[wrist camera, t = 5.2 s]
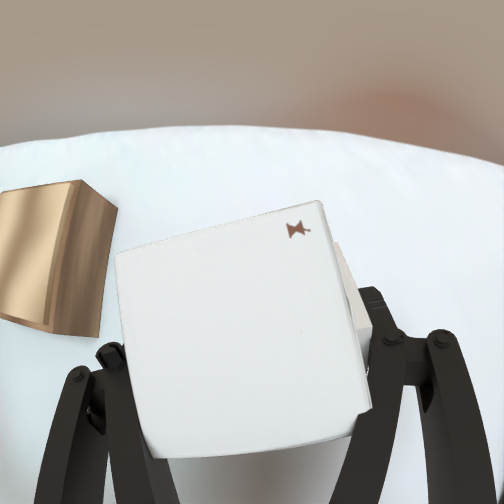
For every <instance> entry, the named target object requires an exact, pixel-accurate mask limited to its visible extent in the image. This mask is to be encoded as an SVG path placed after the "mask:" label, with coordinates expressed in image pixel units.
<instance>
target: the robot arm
mask: <svg viewBox="0 0 504 504" xmlns="http://www.w3.org/2000/svg"><path fill="white" fill-rule="evenodd" d="M334 246H335V250H336V254H337V257H338V261H339V265H340V268H341V272H342V276H343V279H344V283H345V287H346V291H347V293H348V296H349V299H350V302H351V307H352V311H353V316H354V322H355V326H356V331H357V335H358V339H359V344H360V348H361V353H362V358H363V362H364V367H365V372H367V369H368V366H369V372H368V376H367V382H368V387H369V392H370V397H371V403H372V408H371V409H369V410H368V411H366V412H364V413H361V414H358V417H357V420H356V424H355V427H354V431H353V434H352V438H351V441H350V444H349V448H348V451H347V454H346V457H345V460H344V463H343V466H342V469H341V472H340V475H339V478H338V481H337V483H336V486H335V489H334V492H333V494H332V497H331V499H330V502H329V504H378V502H379V499H380V495H381V492H382V488H383V485H384V481H385V477H386V473H387V469H388V465H389V461H390V457H391V452H392V448H393V443H394V438H395V433H396V428H397V422H398V417H399V411H400V404H401V398H402V391H403V385H410V386H415V388H416V393H417V399H418V405H419V411H420V418H421V425H422V432H423V440H424V449H425V458H426V469H427V483H428V502H429V504H497V500H496V491H495V483H494V477H493V470H492V464H491V459H490V453H489V448H488V443H487V439H486V434H485V430H484V426H483V421H482V417H481V414H480V410H479V406H478V402H477V399H476V395H475V392H474V389H473V385H472V382H471V379H470V376H469V372H468V369H467V366H466V363H465V360H464V358H463V355H462V352H461V349H460V346H459V344H458V341H457V338H456V337H455V335H454V334H453V333H451V332H450V331H447V330H444V329H437V330H434V331H432V332H431V333H429V335H428V337H427V338H413V337H409V336H407V335H406V334H405V333H404V332H403V331H402V330H400V329H398V328H397V326H396V324H395V322H394V320H393V317H392V315H391V313H390V311H389V309H388V307H387V305H386V303H385V301H384V299H383V297H382V294H381V292H380V291H378V290H377V289H376V288H375V287H373V286H371V287H365V288H359V289H357V286H356V284H355V282H354V279H353V277H352V274H351V272H350V270H349V267H348V265H347V263H346V261H345V258H344V256H343V254H342V251H341V249H340V247H339V245H338V242H334ZM95 357H96V358H97V360H98V361H99V363H100V364H101V366H102V367H103V369H101V370H97V371H93V372H91V371H90V370H89V368H88V367H86V366H78V367H75V368H74V369H72V370H71V371H70V372H69V374H68V376H67V378H66V381H65V384H64V387H63V390H62V393H61V396H60V399H59V402H58V405H57V409H56V412H55V415H54V419H53V422H52V425H51V429H50V433H49V436H48V440H47V444H46V448H45V452H44V456H43V460H42V464H41V469H40V473H39V478H38V483H37V488H36V493H35V499H34V504H103V496H104V486H105V477H106V468H107V460H108V453H109V456H110V464H111V472H112V479H113V485H114V491H115V497H116V503H117V504H180V502H179V499H178V496H177V492H176V489H175V486H174V482H173V479H172V475H171V472H170V468H169V464H168V461H167V458H155V459H153V457H152V455H151V453H150V451H149V448H148V446H147V444H146V442H145V439H144V436H143V433H142V429H141V425H140V421H139V417H138V412H137V408H136V403H135V399H134V394H133V389H132V384H131V379H130V374H129V369H128V364H127V358H126V352H125V346H124V343H123V346H121V344H119V343H118V342H110V343H107V344H105V345H103V346H102V347H101V348H99V350H98V351H97V353H96V356H95ZM87 409H88V411H87Z"/></svg>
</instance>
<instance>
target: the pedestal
mask: <svg viewBox="0 0 504 504" xmlns="http://www.w3.org/2000/svg"><path fill="white" fill-rule="evenodd" d="M117 211H118V208H117V207H115V206H114V205H113V204H112V203H110V202H109V201H108V200H107V199H105V198H104V197H103V196H102V195H100V194H99V193H98V192H97V191H95V190H94V189H93V188H92V187H90V186H89V185H88V184H87V183H85V182H84V181H83V180H82V179H81V180H74V181H66V182H59V183H52V184H45V185H39V186H33V187H27V188H21V189H15V190H10V191H4V192H2V193H1V194H0V318H2V319H5V320H8V321H11V322H14V323H17V324H20V325H24V326H27V327H30V328H34V329H37V330H41V331H44V332H48V333H52V334H60V335H71V336H83V337H96V338H99V326H100V316H101V307H102V299H103V291H104V284H105V277H106V270H107V264H108V257H109V252H110V246H111V240H112V235H113V230H114V225H115V220H116V215H117Z"/></svg>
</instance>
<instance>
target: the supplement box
mask: <svg viewBox="0 0 504 504" xmlns="http://www.w3.org/2000/svg"><path fill="white" fill-rule="evenodd" d="M114 263H115V274H116V284H117V294H118V302H119V311H120V319H121V327H122V333H123V340H124V346H125V352H126V358H127V364H128V369H129V374H130V379H131V384H132V389H133V394H134V399H135V403H136V408H137V412H138V417H139V421H140V425H141V429H142V433H143V436H144V439H145V442H146V444H147V446H148V448H149V451H150V453H151V455H152V457H153V459H155V458H197V457H212V456H225V455H238V454H249V453H258V452H266V451H274V450H281V449H287V448H293V447H299V446H305V445H311V444H316V443H321V442H326V441H330V440H334V439H339V438H343V437H347V436H351V435H352V434H353V431H354V427H355V424H356V420H357V417H358V414H361V413H364V412H366V411H368V410H369V409H371V408H372V403H371V397H370V392H369V387H368V382H367V377H366V372H365V367H364V362H363V358H362V353H361V348H360V344H359V339H358V335H357V331H356V326H355V322H354V316H353V311H352V307H351V302H350V299H349V296H348V293H347V291H346V287H345V283H344V279H343V276H342V272H341V268H340V265H339V261H338V257H337V254H336V250H335V246H334V243H333V239H332V236H331V233H330V229H329V226H328V223H327V219H326V216H325V212H324V209H323V205H322V203H321V202H320V201H319V200H315V201H311V202H307V203H304V204H300V205H296V206H292V207H288V208H284V209H281V210H277V211H273V212H269V213H265V214H262V215H258V216H254V217H250V218H247V219H243V220H239V221H235V222H231V223H226V224H222V225H218V226H215V227H211V228H207V229H203V230H199V231H196V232H192V233H188V234H184V235H181V236H177V237H173V238H170V239H166V240H162V241H159V242H155V243H151V244H148V245H144V246H140V247H137V248H134V249H130V250H127V251H124V252H121V253H118V254H116V255H115V257H114Z"/></svg>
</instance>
